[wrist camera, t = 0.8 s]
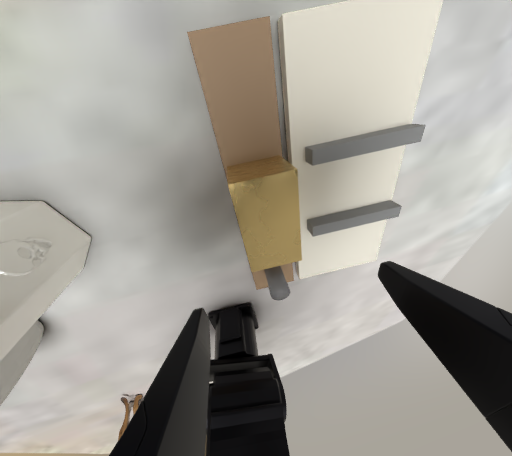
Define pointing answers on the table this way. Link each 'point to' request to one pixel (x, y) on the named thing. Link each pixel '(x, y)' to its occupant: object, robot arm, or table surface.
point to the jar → (34, 264)
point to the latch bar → (267, 211)
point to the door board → (323, 115)
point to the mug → (19, 359)
